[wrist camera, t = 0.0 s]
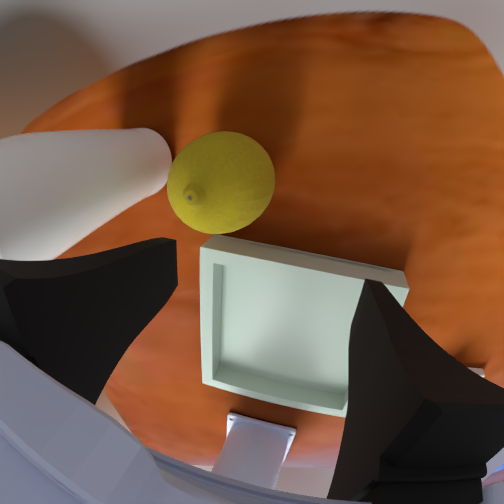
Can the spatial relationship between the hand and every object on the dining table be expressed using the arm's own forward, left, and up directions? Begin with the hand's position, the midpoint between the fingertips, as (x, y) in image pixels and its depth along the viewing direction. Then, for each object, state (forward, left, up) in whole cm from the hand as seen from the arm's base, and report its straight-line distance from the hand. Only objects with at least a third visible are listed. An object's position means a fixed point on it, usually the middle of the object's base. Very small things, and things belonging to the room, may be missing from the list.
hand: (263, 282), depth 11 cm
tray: (-10, -1, -10) cm, 14 cm away
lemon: (+2, +4, -10) cm, 11 cm away
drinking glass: (+2, +12, -10) cm, 16 cm away
